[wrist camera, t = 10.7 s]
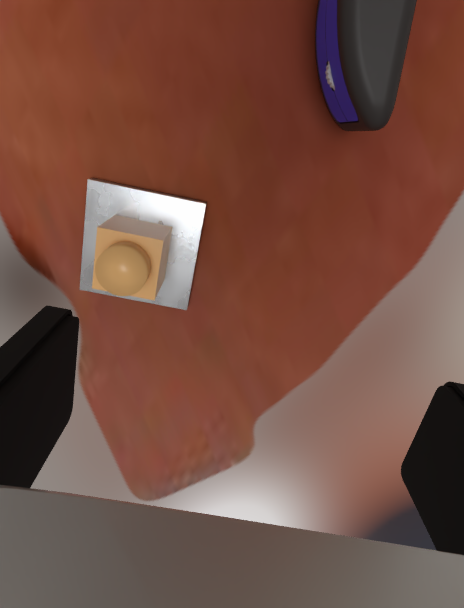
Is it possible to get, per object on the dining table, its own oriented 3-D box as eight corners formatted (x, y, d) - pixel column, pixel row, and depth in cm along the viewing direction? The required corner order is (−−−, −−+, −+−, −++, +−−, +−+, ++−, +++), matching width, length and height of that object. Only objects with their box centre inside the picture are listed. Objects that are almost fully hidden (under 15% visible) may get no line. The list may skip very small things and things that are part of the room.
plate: (92, 177, 36) (74, 183, 32) (206, 202, 37) (203, 210, 33) (84, 285, 40) (66, 302, 36) (188, 305, 40) (182, 324, 36)
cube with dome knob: (115, 214, 36) (89, 232, 30) (172, 226, 36) (159, 246, 30) (109, 269, 38) (84, 296, 32) (164, 280, 38) (150, 309, 32)
